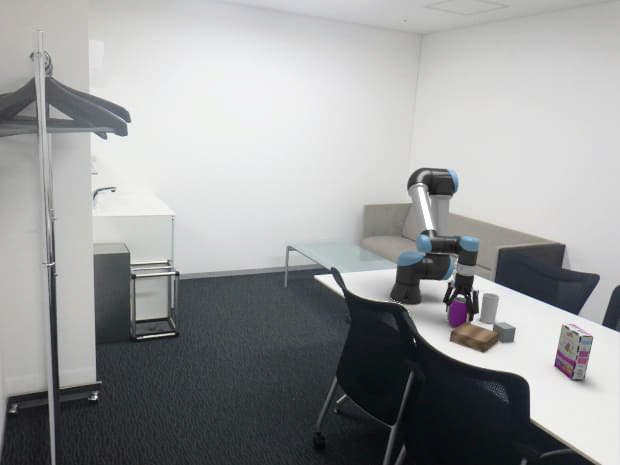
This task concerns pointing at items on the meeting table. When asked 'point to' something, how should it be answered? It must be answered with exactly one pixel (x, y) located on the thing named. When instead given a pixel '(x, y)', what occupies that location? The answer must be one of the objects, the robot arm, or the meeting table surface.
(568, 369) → the candy bar box
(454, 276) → the silvery white figurine
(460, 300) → the beverage can
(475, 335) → the walnut block
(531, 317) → the meeting table surface
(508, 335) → the grey block
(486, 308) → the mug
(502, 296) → the meeting table surface
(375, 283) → the meeting table surface
